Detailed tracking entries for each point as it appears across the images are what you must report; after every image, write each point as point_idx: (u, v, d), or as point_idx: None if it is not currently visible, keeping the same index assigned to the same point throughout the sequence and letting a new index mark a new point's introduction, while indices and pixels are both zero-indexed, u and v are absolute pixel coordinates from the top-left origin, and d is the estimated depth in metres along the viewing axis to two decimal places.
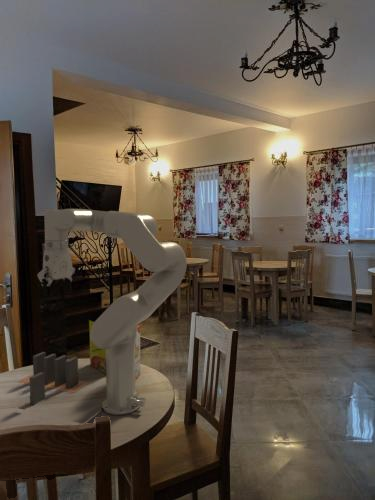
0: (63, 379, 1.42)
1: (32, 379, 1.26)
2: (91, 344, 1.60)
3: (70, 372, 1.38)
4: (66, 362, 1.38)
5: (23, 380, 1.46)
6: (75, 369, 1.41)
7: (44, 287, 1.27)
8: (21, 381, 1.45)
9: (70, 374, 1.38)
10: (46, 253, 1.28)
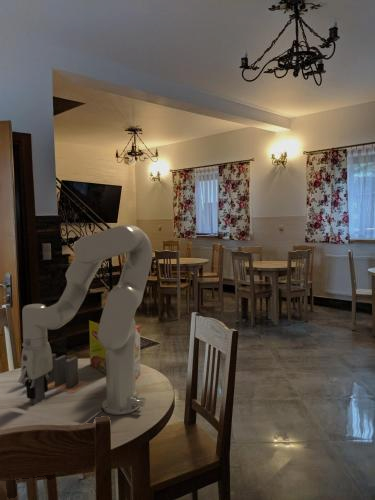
0: (63, 379, 1.42)
1: None
2: (91, 344, 1.60)
3: (70, 372, 1.38)
4: (66, 362, 1.38)
5: None
6: (75, 369, 1.41)
7: (27, 389, 1.25)
8: None
9: (70, 374, 1.38)
10: (24, 352, 1.23)
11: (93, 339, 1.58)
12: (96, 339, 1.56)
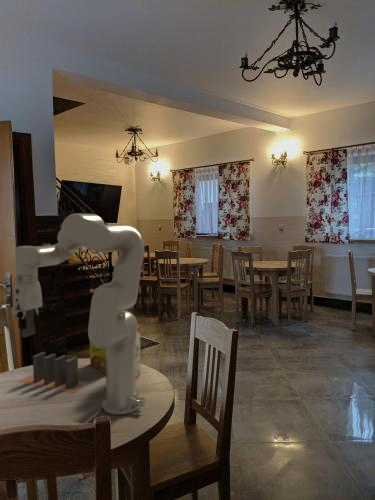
0: (63, 379, 1.42)
1: None
2: (91, 344, 1.60)
3: (70, 372, 1.38)
4: (66, 362, 1.38)
5: (23, 380, 1.46)
6: (75, 369, 1.41)
7: (19, 320, 1.41)
8: (21, 381, 1.45)
9: (70, 374, 1.38)
10: (17, 287, 1.39)
11: None
12: None
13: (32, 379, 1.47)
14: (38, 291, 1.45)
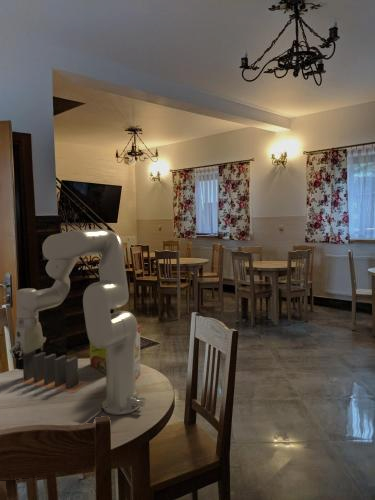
0: (63, 379, 1.42)
1: (25, 356, 1.45)
2: (91, 344, 1.60)
3: (70, 372, 1.38)
4: (66, 362, 1.38)
5: (23, 380, 1.46)
6: (75, 369, 1.41)
7: (16, 360, 1.42)
8: (21, 381, 1.45)
9: (70, 374, 1.38)
10: (18, 330, 1.42)
11: None
12: None
13: (32, 379, 1.47)
14: (39, 332, 1.48)
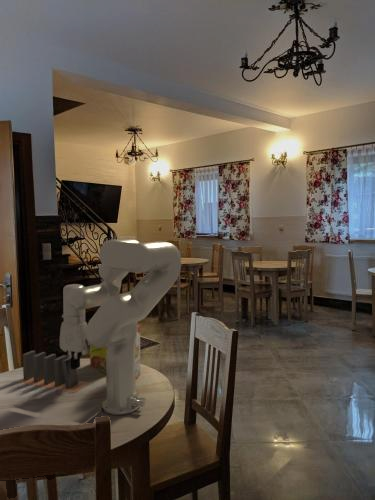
0: (63, 379, 1.42)
1: (25, 356, 1.45)
2: None
3: (68, 371, 1.38)
4: (63, 362, 1.38)
5: (23, 380, 1.46)
6: None
7: None
8: (21, 381, 1.45)
9: (68, 373, 1.38)
10: None
11: None
12: None
13: (32, 379, 1.47)
14: (76, 335, 1.35)
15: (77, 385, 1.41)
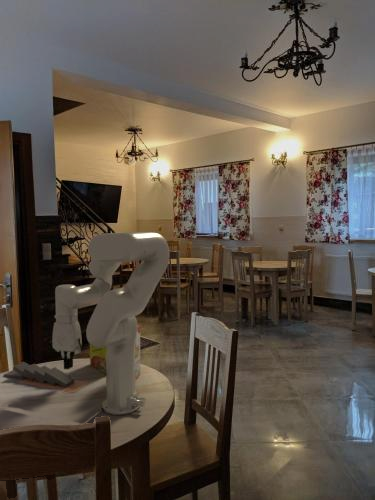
0: None
1: (4, 375, 1.50)
2: None
3: (55, 376, 1.41)
4: (45, 374, 1.42)
5: (23, 380, 1.46)
6: (60, 373, 1.44)
7: None
8: (21, 381, 1.45)
9: (56, 377, 1.41)
10: None
11: None
12: None
13: None
14: (68, 335, 1.36)
15: (77, 385, 1.41)
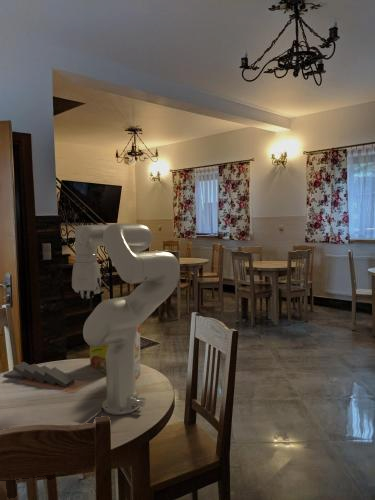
0: None
1: (4, 375, 1.50)
2: None
3: (55, 376, 1.41)
4: (45, 374, 1.42)
5: (23, 380, 1.46)
6: (60, 373, 1.44)
7: None
8: (21, 381, 1.45)
9: (56, 377, 1.41)
10: None
11: None
12: None
13: None
14: (88, 273, 1.37)
15: (77, 385, 1.41)
